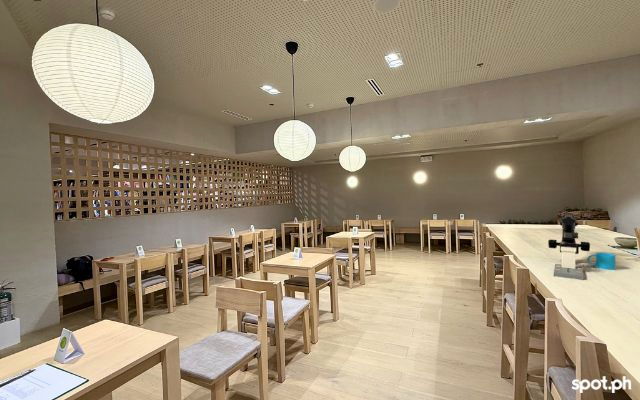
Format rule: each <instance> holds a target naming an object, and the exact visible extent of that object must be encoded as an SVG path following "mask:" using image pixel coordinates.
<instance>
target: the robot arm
mask: <svg viewBox="0 0 640 400" xmlns="http://www.w3.org/2000/svg"><path fill="white" fill-rule="evenodd" d="M559 225H560V226H561V228H562V231H561V232H562V233H561V241H560V242H558V241H557V239H550V238H549V239H548V242H547V243H548V244H547V245H548V248H549V249H556V248H557V247H559V253H561V254H562V251H561V247H571V248H576V252H575V255H578V254H579V252H580V251H582V252H590V249H591V243H590V242H589V241H580V243H576V242H577V241H576V239H579V232H577V231H575V230H576V227H577V226H579V222H578V221H577V217H575V216H574V213H563V216H561V217H560V224H559ZM579 249H580V250H579ZM560 262H562V259H560ZM576 264H577V262H576V261H575V265H576Z"/></svg>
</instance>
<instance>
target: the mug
mask: <svg viewBox="0 0 640 400" xmlns="http://www.w3.org/2000/svg"><path fill="white" fill-rule="evenodd" d="M592 257H595V264H594V263H592V262H591V261H590V259H591V258H592ZM587 262H588V263H589V264H590V265H591V266H594V267H595V268H597V269H601V270H607V271H615V270H616V255H615V254H614V253H609V252H596V253H595V254H591V255H589V256H588V257H587Z"/></svg>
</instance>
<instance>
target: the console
mask: <svg viewBox="0 0 640 400" xmlns="http://www.w3.org/2000/svg"><path fill="white" fill-rule="evenodd" d="M583 271H584V270H583V267H582V266H576V265H575V269H573V268H564V267H562V263H555V264H554V268H553V277H558V278H565V279H567V278H568V279H573V280H581V281H583V280H584V272H583Z"/></svg>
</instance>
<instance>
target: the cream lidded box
mask: <svg viewBox="0 0 640 400" xmlns="http://www.w3.org/2000/svg"><path fill="white" fill-rule="evenodd" d="M561 251H562V253H561V260H562V261H561V265H562V267H564V268H573V269H575V266H576V264H575V262H576V254H575V252H576V248H571V247H561Z"/></svg>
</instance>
